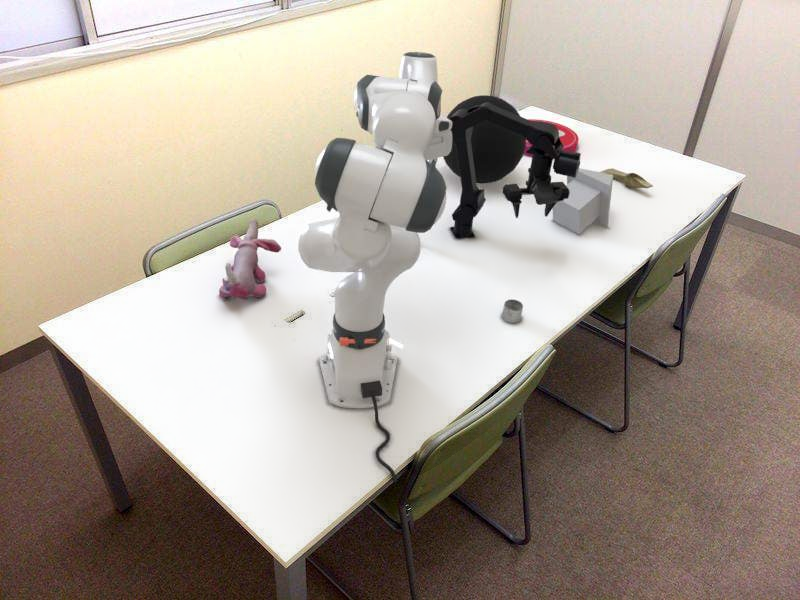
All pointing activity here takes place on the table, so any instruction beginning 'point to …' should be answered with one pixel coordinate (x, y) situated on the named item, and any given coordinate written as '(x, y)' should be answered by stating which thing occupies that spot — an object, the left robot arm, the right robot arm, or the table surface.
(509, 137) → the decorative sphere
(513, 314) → the tin
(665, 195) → the table surface
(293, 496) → the table surface
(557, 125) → the sign
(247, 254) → the toy
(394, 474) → the left robot arm
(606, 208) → the grey flanged block
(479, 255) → the table surface
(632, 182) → the tool
